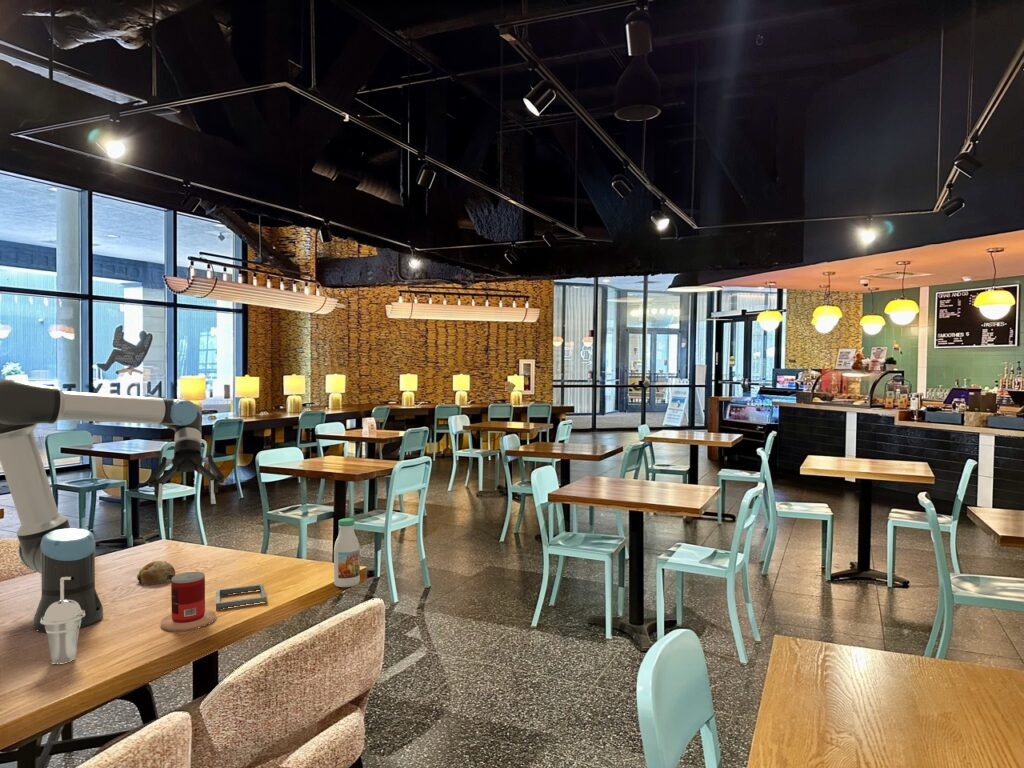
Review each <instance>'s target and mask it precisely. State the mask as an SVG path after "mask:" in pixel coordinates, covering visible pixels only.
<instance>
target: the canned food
mask: <svg viewBox="0 0 1024 768" xmlns="http://www.w3.org/2000/svg"><path fill="white" fill-rule="evenodd" d="M205 579H206V578H205V573H204V572H202V571H188V572H182V573H179V574H175V576H174V577H172V580H171V581H170V583H171V585H170V587H171V588H170V591H171V594H170V595H171V599H170V600H171V601H170V602H171V614H172V620H173V621H174V622H177V623H187V622H192V621H196V620H199V619H201V618H202V617H203V616H204V614H205V609H206V580H205Z"/></svg>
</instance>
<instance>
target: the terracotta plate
mask: <svg viewBox="0 0 1024 768" xmlns="http://www.w3.org/2000/svg"><path fill="white" fill-rule="evenodd" d="M215 618H216V619H217V613H216V611H214V610H211V609H207V608H205V614H204V616H203V617H202V618H201V619H199V620H196V621H192V622H187V623H177V622H174V621H173V620H172V613H171V614H169V615H167V616H165V617H163V618H162V619H161V620H160V628H161V629H162V630H164V631H169V632H185V631H192V629H193V630H197V629H199V628H198V627H201V628H203V627H202V626H204V625H207V624H209V623H211V622H212V621H214V620H215V621H216V619H215ZM215 621H214V622H215ZM212 623H213V622H212ZM212 623H211V624H212ZM209 625H210V624H209ZM207 626H208V625H207ZM204 627H205V626H204ZM196 628H197V629H196Z"/></svg>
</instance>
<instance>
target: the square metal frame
mask: <svg viewBox="0 0 1024 768" xmlns="http://www.w3.org/2000/svg"><path fill="white" fill-rule="evenodd" d="M256 590H260V591H259V593H260V592H261V594H260V596H256V597H249V598H248V597H247V598H241V599H234V600H225V601H221V597H222V596H221V595H227V596H229V595H228V594H233V593H241V592H248V591H256ZM260 602H266V603H267V594H266V589H265V585H264V583H260V584H259V583H258V584H252V585H243V586H233V587H227V588H220V589H215V611H218V610H217V609H222V610H224V609H223V608H228V607H234V606H240V605H246V604H254V603H260Z"/></svg>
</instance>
